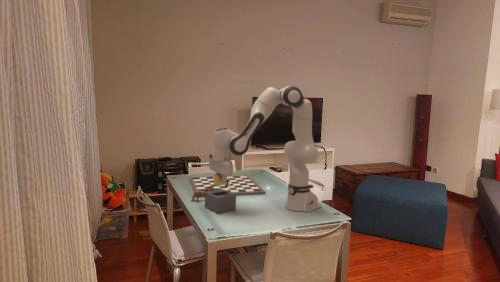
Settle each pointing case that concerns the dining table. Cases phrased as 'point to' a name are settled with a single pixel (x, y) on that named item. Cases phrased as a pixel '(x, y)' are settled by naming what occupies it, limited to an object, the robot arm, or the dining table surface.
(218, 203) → the money box
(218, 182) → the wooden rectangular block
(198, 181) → the chess set
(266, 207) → the dining table surface
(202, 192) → the lion figurine
